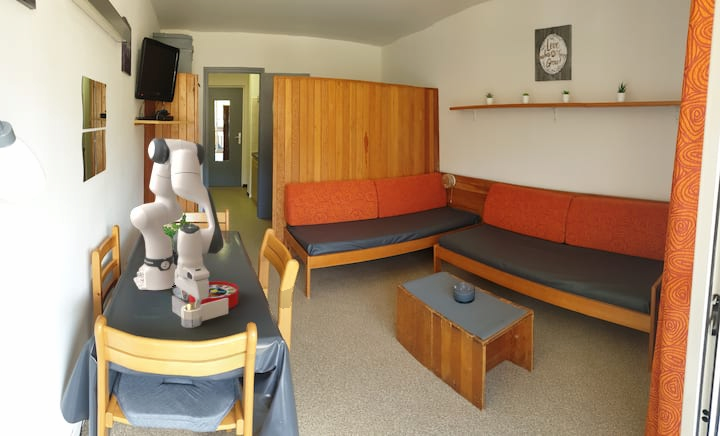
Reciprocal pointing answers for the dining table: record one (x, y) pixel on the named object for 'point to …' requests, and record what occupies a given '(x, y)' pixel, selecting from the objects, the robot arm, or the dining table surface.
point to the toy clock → (220, 293)
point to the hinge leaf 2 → (206, 310)
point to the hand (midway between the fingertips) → (191, 303)
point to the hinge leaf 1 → (176, 308)
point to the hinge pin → (190, 306)
